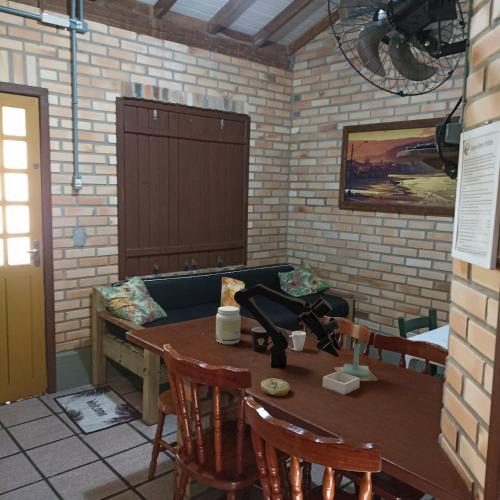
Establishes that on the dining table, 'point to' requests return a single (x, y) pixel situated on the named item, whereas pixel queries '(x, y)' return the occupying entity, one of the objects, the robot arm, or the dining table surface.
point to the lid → (356, 365)
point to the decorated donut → (275, 387)
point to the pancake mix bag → (230, 291)
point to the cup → (298, 340)
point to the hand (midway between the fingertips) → (339, 353)
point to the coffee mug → (260, 339)
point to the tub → (341, 382)
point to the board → (367, 378)
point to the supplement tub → (228, 325)
